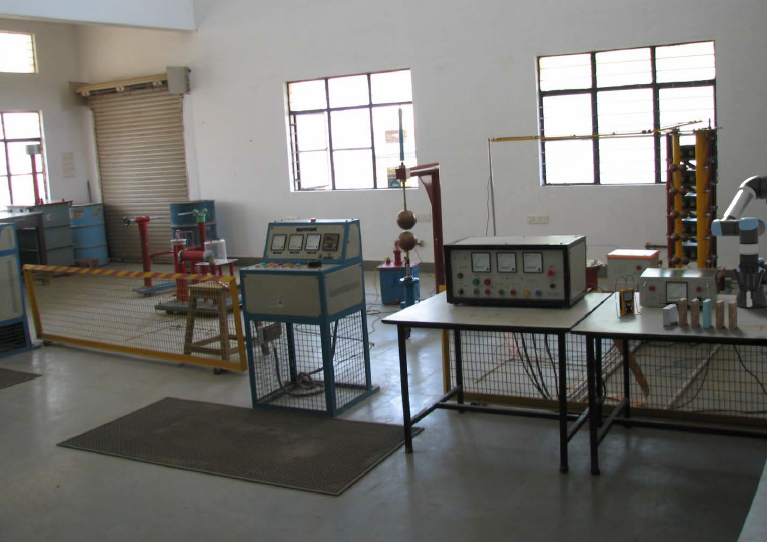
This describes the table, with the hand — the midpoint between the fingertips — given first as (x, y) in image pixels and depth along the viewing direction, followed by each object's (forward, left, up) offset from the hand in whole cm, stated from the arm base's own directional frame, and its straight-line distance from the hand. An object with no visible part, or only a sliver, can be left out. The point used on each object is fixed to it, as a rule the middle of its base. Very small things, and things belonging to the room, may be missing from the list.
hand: (749, 306), depth 346 cm
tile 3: (+9, -16, -11) cm, 21 cm away
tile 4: (+12, -20, -11) cm, 26 cm away
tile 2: (+6, -11, -11) cm, 16 cm away
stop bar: (+17, -30, -11) cm, 37 cm away
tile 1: (+3, -6, -11) cm, 13 cm away
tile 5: (+14, -25, -11) cm, 31 cm away
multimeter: (+21, -54, -11) cm, 59 cm away
